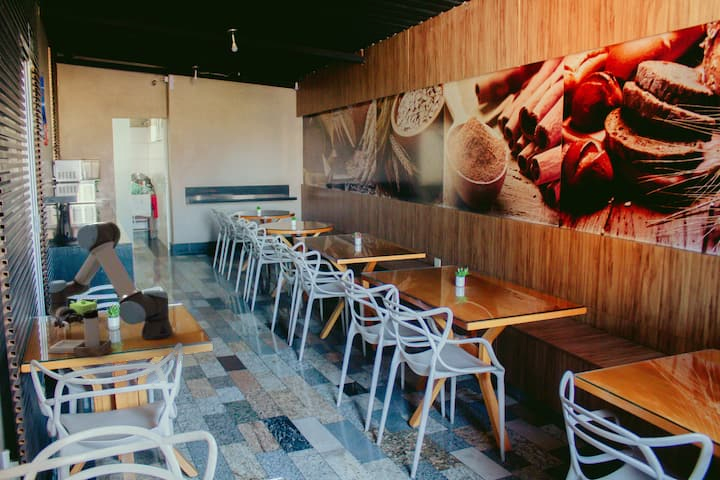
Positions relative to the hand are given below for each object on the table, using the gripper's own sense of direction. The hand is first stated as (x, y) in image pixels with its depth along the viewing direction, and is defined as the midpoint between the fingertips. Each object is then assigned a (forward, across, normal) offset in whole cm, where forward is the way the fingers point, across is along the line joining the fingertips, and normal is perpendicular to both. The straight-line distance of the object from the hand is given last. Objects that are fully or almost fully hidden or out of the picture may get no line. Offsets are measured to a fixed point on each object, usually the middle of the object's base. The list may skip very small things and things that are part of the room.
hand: (83, 323), depth 274 cm
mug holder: (+10, 0, -12) cm, 15 cm away
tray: (-3, +6, -12) cm, 13 cm away
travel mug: (+10, 0, -12) cm, 15 cm away
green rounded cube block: (-50, -19, -12) cm, 55 cm away
